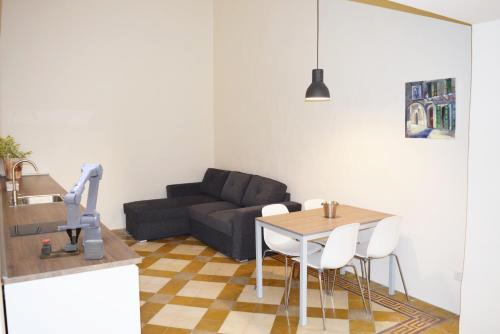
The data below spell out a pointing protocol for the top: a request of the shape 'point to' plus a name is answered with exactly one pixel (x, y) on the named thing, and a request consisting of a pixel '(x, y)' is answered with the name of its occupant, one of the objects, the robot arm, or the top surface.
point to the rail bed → (56, 252)
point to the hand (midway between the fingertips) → (74, 243)
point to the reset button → (46, 241)
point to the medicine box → (93, 249)
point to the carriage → (71, 246)
